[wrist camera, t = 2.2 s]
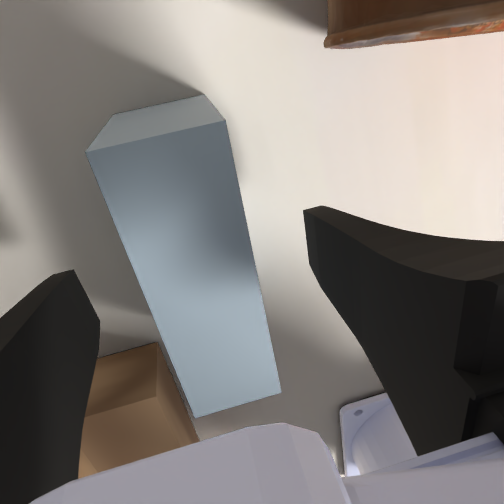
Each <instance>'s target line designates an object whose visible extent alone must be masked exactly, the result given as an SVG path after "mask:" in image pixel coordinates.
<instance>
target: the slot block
mask: <svg viewBox="0 0 504 504" xmlns="http://www.w3.org/2000/svg"><path fill="white" fill-rule="evenodd" d="M197 442H200V441H199V438H198V436H197V434H196V431H195V429H194V427H193V424H192V422H191V420H190V417H189V415H188V412H187V410H186V408H185V405H184V403H183V401H182V398H181V396H180V394H179V391H178V389H177V387H176V384H175V382H174V380H173V377H172V375H171V373H170V370H169V368H168V365H167V363H166V361H165V358H164V356H163V354H162V351H161V349H160V347H159V344H158V342H156V343H152V344H148V345H145V346H141V347H138V348H134V349H130V350H127V351H123V352H120V353H116V354H112V355H109V356H105V357H102V358H98V359H97V361H96V366H95V370H94V375H93V380H92V384H91V389H90V394H89V398H88V403H87V408H86V412H85V417H84V423H83V429H82V439H81V449H80V460H79V472H78V479H80V478H83V477H86V476H89V475H93V474H96V473H99V472H102V471H106V470H109V469H112V468H115V467H119V466H122V465H125V464H128V463H132V462H135V461H138V460H141V459H145V458H148V457H151V456H154V455H158V454H161V453H164V452H167V451H171V450H174V449H177V448H180V447H184V446H187V445H190V444H193V443H197Z"/></svg>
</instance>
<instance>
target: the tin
mask: <svg viewBox="0 0 504 504" xmlns="http://www.w3.org/2000/svg"><path fill="white" fill-rule="evenodd" d="M501 31H504V0H328V34H327V37H326V38H325V40H324V47H325V48H331V49H352V48H361V47H371V46H378V45H382V44H394V43H406V42H414V41H424V40H432V39H442V38H449V37H458V36H467V35H475V34H485V33H493V32H501Z"/></svg>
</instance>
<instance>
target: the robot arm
mask: <svg viewBox="0 0 504 504" xmlns="http://www.w3.org/2000/svg"><path fill="white" fill-rule="evenodd" d="M303 214H304V222H305V231H306V240H307V248H308V257H309V264H310V266H311V269H312V271H313V273H314V275H315V277H316V279H317V281H318V283H319V285H320V287H321V288H322V290H323V291H324V293H325V294H326V296H327V297H328V298H329V300H330V301H331V303H332V304H333V306H334V307H335V308H336V310H337V311H338V313H339V314H340V316H341V317H342V318H343V320H344V321H345V323H346V324H347V325H348V327H349V328H350V330H351V331H352V333H353V334H354V335H355V337H356V338H357V340H358V342H359V343H360V345H361V346H362V348H363V350H364V352H365V353H366V355H367V357H368V359H369V361H370V363H371V364H372V366H373V368H374V370H375V372H376V374H377V375H378V377H379V379H380V381H381V383H382V385H383V387H384V389H385V391H386V393H383V394H380V395H376V396H373V397H370V398H367V399H363V400H360V401H357V402H354V403H350V404H347V405H345V406H343V407H342V408H341V409H340V412H339V413H340V425H341V436H342V447H343V459H344V470H345V477H341V476H340V474H339V471H338V469H337V467H336V464H335V462H334V459H333V457H332V454H331V452H330V450H329V449H328V447H327V446H326V444H325V443H324V441H323V439H322V438H321V436H320V435H319V433H318V432H315V431H312V430H308V429H305V428H301V427H297V426H294V425H290V424H287V423H283V422H281V423H273V424H266V425H258V426H251V427H245V428H242V429H239V430H236V431H232V432H229V433H226V434H223V435H219V436H216V437H213V438H210V439H206V440H203V441H200V442H197V443H193V444H190V445H187V446H184V447H180V448H177V449H174V450H171V451H167V452H164V453H161V454H158V455H154V456H151V457H148V458H145V459H141V460H138V461H135V462H132V463H128V464H125V465H122V466H119V467H115V468H112V469H109V470H106V471H102V472H99V473H96V474H93V475H89V476H86V477H83V478H80V479H78V472H79V460H80V449H81V439H82V429H83V423H84V417H85V412H86V408H87V403H88V398H89V394H90V389H91V384H92V380H93V375H94V370H95V366H96V361H97V356H98V350H99V338H100V320H99V318H98V316H97V314H96V312H95V310H94V308H93V306H92V304H91V302H90V300H89V298H88V296H87V295H86V293H85V291H84V289H83V287H82V285H81V283H80V281H79V279H78V277H77V275H76V273H75V271H74V269H73V270H69V271H65V272H61V273H58V274H54V275H52V276H50V277H49V278H47V279H46V280H44V281H43V282H42V283H41V284H39V285H38V286H37V287H36V288H35V289H33V290H32V291H31V292H30V293H29V294H28V295H26V296H25V297H24V298H23V299H22V300H21V301H19V302H18V303H17V304H16V305H15V306H14V307H13V308H11V309H10V310H9V311H8V312H7V313H6V314H5V315H3V316H2V317H1V318H0V504H504V241H482V240H468V239H458V238H448V237H440V236H433V235H427V234H422V233H416V232H411V231H406V230H402V229H398V228H394V227H390V226H386V225H382V224H379V223H376V222H372V221H369V220H366V219H363V218H360V217H357V216H354V215H351V214H348V213H345V212H342V211H339V210H336V209H333V208H330V207H326V206H318V207H314V208H310V209H306V210H303Z"/></svg>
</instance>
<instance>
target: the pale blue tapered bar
mask: <svg viewBox="0 0 504 504" xmlns="http://www.w3.org/2000/svg"><path fill="white" fill-rule="evenodd" d="M85 153H86V156H87V158H88V161H89V163H90V165H91V168H92V170H93V173H94V175H95V177H96V180H97V182H98V185H99V187H100V190H101V192H102V194H103V197H104V199H105V202H106V204H107V207H108V209H109V211H110V214H111V216H112V219H113V221H114V223H115V226H116V228H117V231H118V233H119V236H120V238H121V240H122V243H123V245H124V248H125V250H126V253H127V255H128V257H129V260H130V262H131V265H132V267H133V269H134V272H135V274H136V277H137V279H138V282H139V284H140V286H141V289H142V291H143V294H144V296H145V299H146V301H147V303H148V306H149V308H150V311H151V313H152V315H153V318H154V320H155V323H156V325H157V328H158V330H159V332H160V335H161V337H162V340H163V342H164V345H165V347H166V349H167V352H168V354H169V357H170V359H171V361H172V364H173V366H174V369H175V371H176V374H177V376H178V378H179V381H180V383H181V386H182V388H183V390H184V393H185V395H186V398H187V400H188V403H189V405H190V407H191V410H192V412H193V415H194V417H195V418H198V417H201V416H205V415H208V414H211V413H215V412H218V411H222V410H225V409H228V408H232V407H235V406H238V405H242V404H245V403H248V402H252V401H255V400H259V399H262V398H265V397H269V396H272V395H275V394H279V393H282V391H281V387H280V382H279V377H278V372H277V367H276V362H275V358H274V353H273V348H272V343H271V338H270V333H269V328H268V324H267V319H266V314H265V309H264V304H263V299H262V295H261V290H260V285H259V280H258V275H257V270H256V266H255V261H254V256H253V251H252V246H251V241H250V237H249V232H248V227H247V222H246V217H245V212H244V208H243V203H242V198H241V193H240V188H239V183H238V178H237V174H236V169H235V164H234V159H233V154H232V149H231V145H230V140H229V135H228V130H227V125H226V120H225V119H224V118H223V116H222V115H221V114H220V113H219V112H218V110H217V109H216V108H215V107H214V105H213V104H212V103H211V102H210V100H209V99H208V98H207V97H206V96H205V94H204V95H199V96H195V97H190V98H186V99H181V100H177V101H172V102H168V103H163V104H159V105H154V106H150V107H145V108H140V109H136V110H131V111H127V112H122V113H118V114H113V115H112V117H111V118H110V119H109V121H108V122H107V123H106V125H105V126H104V127H103V129H102V130H101V131H100V133H99V134H98V135H97V137H96V138H95V139H94V141H93V142H92V143H91V145H90V146H89V147H88V149H87V150H86V151H85Z"/></svg>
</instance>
